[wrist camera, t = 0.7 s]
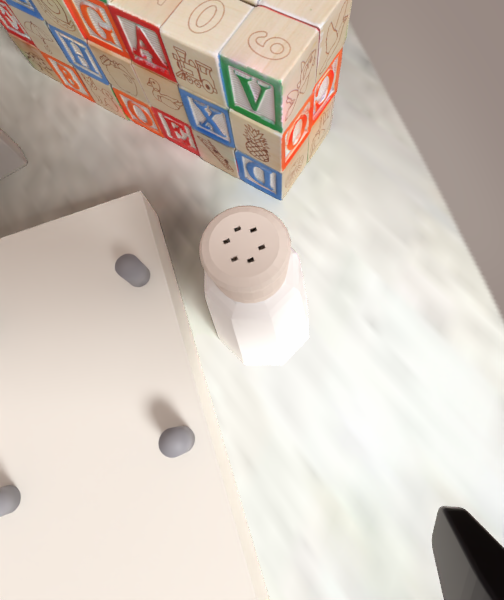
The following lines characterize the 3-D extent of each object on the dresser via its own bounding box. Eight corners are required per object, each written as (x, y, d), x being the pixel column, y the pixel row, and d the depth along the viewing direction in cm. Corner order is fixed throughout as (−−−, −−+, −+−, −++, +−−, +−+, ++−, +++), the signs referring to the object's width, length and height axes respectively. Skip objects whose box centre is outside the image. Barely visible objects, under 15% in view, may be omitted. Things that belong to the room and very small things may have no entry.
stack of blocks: (333, 129, 25) (375, -114, 14) (282, 205, 24) (279, 12, 12) (85, 10, 30) (-47, -251, 18) (32, 70, 29) (-146, -166, 17)
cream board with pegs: (273, 612, 19) (270, 677, 14) (52, 689, 19) (-22, 779, 14) (157, 215, 25) (129, 174, 20) (-10, 272, 24) (-75, 243, 20)
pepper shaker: (328, 345, 22) (369, 288, 11) (237, 384, 22) (190, 364, 11) (288, 261, 23) (290, 138, 12) (202, 296, 23) (131, 204, 12)
